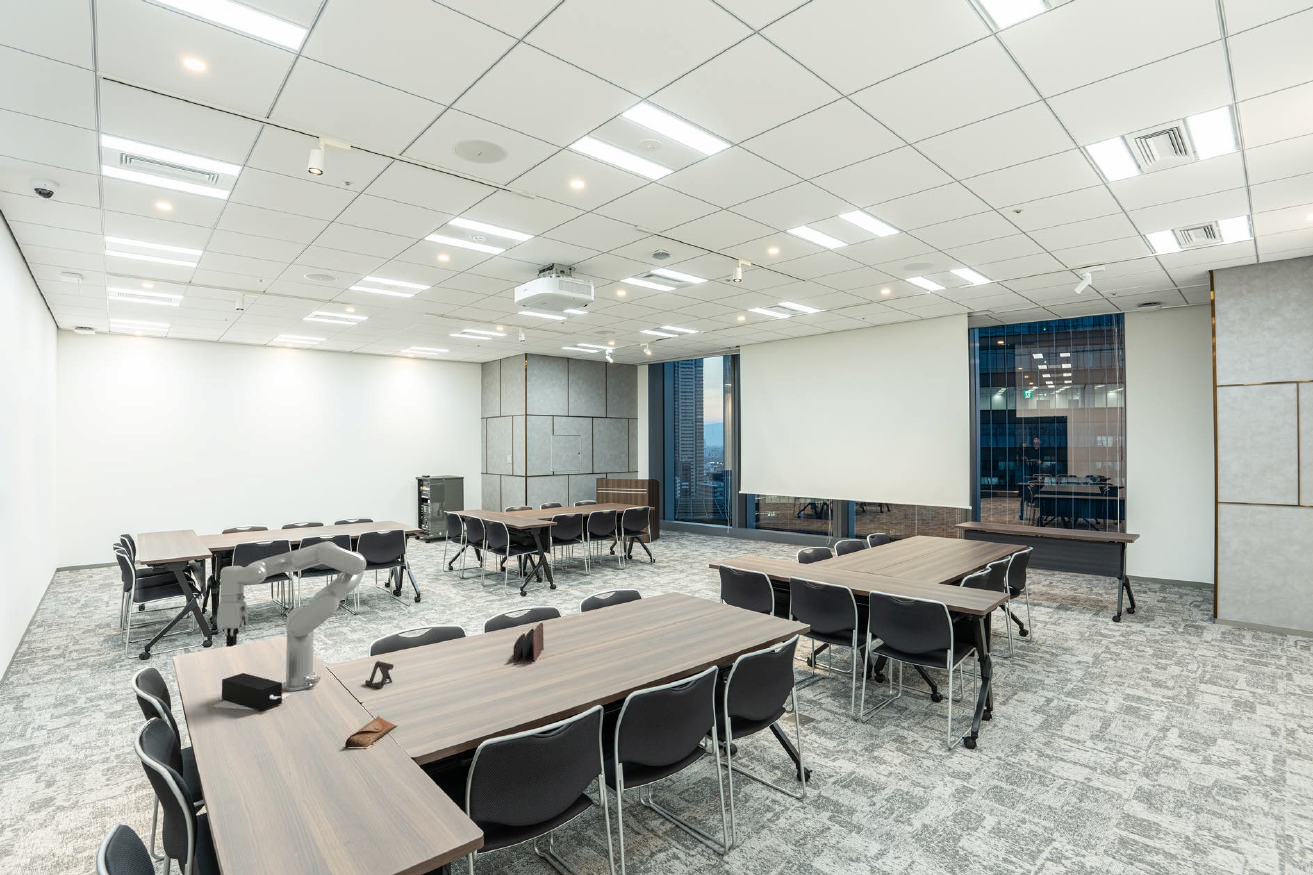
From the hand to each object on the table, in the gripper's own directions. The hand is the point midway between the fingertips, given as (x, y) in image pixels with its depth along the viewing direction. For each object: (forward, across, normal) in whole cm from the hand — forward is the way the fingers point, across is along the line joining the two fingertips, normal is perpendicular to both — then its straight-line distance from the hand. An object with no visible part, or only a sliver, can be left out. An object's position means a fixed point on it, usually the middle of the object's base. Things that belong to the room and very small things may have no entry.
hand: (231, 645), depth 239 cm
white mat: (+20, -12, +2) cm, 23 cm away
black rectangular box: (+16, 0, 0) cm, 16 cm away
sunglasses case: (+21, -75, +22) cm, 81 cm away
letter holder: (+21, -97, -65) cm, 119 cm away
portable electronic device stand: (+21, -50, -21) cm, 58 cm away
